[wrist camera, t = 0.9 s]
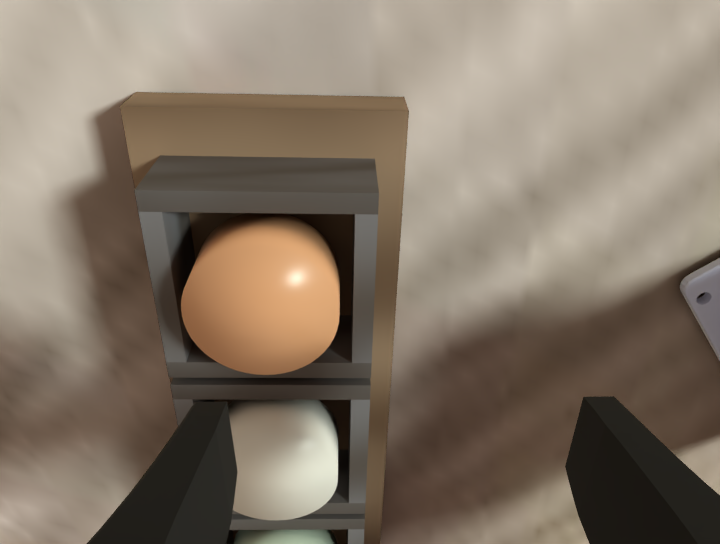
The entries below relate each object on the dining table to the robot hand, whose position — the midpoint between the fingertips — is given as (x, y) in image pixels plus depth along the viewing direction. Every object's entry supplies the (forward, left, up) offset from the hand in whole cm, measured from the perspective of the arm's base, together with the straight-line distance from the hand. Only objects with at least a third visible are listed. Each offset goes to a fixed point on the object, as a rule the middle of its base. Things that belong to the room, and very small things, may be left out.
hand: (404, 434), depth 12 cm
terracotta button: (+2, +3, -6) cm, 7 cm away
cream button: (-3, +7, -6) cm, 10 cm away
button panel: (-3, +7, -9) cm, 12 cm away
